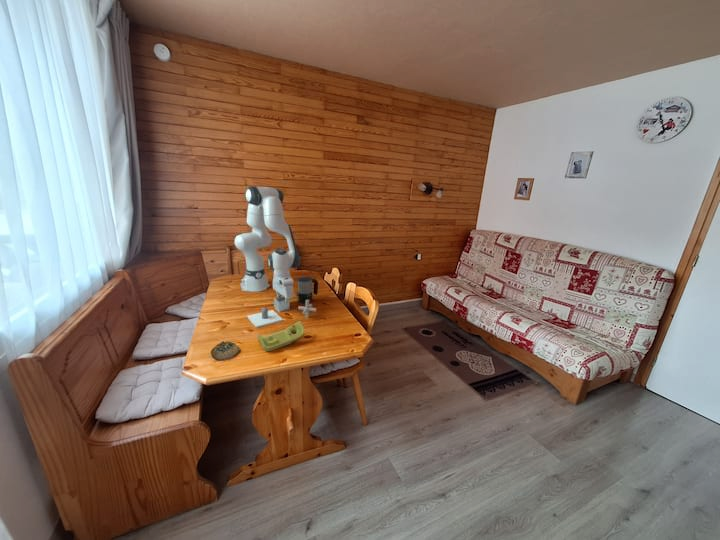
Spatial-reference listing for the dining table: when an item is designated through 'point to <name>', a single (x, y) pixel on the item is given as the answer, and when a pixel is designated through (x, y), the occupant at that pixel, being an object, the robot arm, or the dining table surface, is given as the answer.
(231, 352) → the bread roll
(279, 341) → the plastic component
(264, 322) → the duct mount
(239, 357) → the dining table surface
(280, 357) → the dining table surface
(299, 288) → the milk frother
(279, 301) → the sleeve
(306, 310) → the pipe connector
